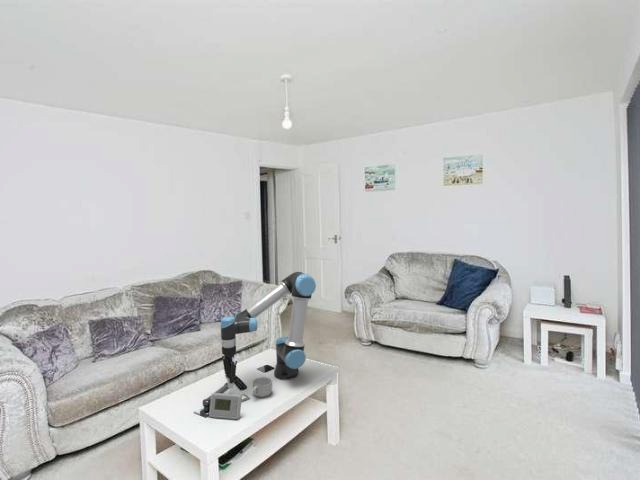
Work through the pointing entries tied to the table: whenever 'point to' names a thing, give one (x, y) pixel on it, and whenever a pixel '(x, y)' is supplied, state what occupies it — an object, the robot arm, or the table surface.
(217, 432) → the table surface
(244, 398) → the label plate
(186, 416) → the table surface
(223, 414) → the digital clock
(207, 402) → the swing arm
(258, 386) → the teacup
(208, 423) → the table surface
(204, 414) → the pivot post
